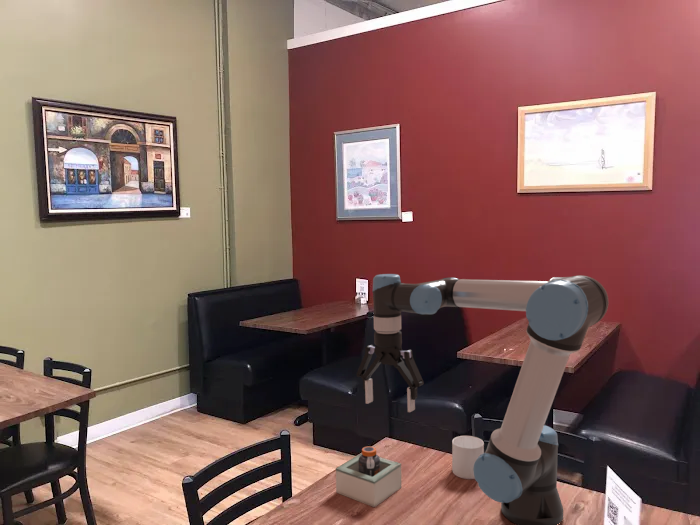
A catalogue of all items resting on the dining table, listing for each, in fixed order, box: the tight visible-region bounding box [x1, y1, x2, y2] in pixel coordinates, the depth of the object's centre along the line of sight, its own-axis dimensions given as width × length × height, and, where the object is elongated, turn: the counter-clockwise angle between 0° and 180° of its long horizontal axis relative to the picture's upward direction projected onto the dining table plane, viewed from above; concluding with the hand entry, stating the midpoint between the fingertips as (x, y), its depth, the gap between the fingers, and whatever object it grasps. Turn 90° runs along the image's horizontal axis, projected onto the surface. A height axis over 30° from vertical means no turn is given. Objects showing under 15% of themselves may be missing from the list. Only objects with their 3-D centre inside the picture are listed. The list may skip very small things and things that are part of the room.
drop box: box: [335, 452, 402, 508], centre depth 159 cm, size 13×13×7 cm
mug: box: [451, 435, 485, 480], centre depth 170 cm, size 12×9×9 cm
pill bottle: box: [359, 446, 380, 477], centre depth 159 cm, size 6×6×11 cm
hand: (389, 406), depth 159 cm, fingers open, 13 cm apart
